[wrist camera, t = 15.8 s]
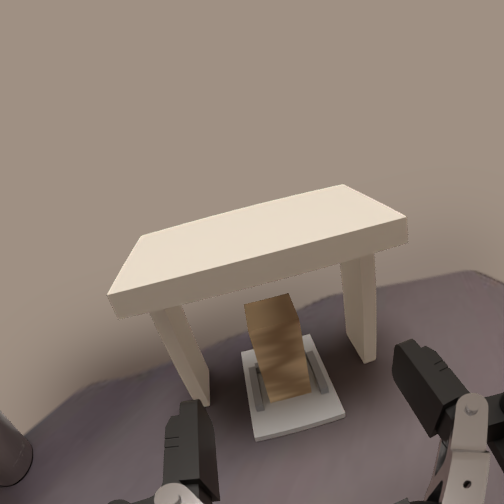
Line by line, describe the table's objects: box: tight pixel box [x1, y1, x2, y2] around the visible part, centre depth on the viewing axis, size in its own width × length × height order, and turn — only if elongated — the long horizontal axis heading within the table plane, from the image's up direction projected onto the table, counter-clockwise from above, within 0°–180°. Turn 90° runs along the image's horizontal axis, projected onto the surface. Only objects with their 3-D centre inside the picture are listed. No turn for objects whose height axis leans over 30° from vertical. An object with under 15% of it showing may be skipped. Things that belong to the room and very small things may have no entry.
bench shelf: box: [107, 184, 408, 442], centre depth 29 cm, size 21×14×19 cm, turn 97°
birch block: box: [244, 293, 311, 403], centre depth 30 cm, size 4×4×10 cm
